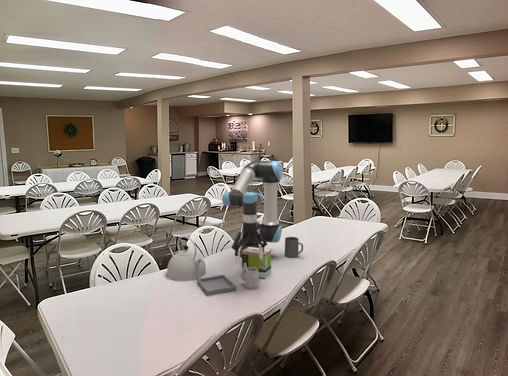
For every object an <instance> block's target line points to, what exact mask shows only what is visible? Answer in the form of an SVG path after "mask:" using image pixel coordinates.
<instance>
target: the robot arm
mask: <svg viewBox="0 0 508 376" xmlns="http://www.w3.org/2000/svg"><path fill="white" fill-rule="evenodd" d="M254 179H259V180H260V179H261V183H262V184H263V195H262V194H260V193H259V192H253V191H252V192H251V191H250V192H246V191H247V189H248V187H249V185H250V184H251V182H252V181H254ZM282 179H283V167H282V164H281V161H278V160H253V161H251V162H248V163H247V164H245V166H243V167H242V169H241V171H240V175H239V177H238V178H237V180H236V181H235V183H234V185H233V186H232V188H231V189H230V191H229V192H224V193H223V194H222V197H221V198H222V204H223V206H228V207H241V208H242V226H241V231H239V230H238V231H237V232H236V236H235V238H234V241H233V243H232V245H231V249H232V250H233V251H234V256H235V258H236V260H235V261H236V262H237V263H240V262H241V258H242V251H243V250H244V249H246V248H248V247H255V248H259V258H260V259H263V253H264V249H265V247H267V246H268V243H271V244H272V243H273V244H274V243H275V244H276V243H279V242H280V240H281V237H282V230H283V226H282V225H281V224H280V221H279V220H278V185H279V184H280V181H281V180H282ZM262 203H263V216H264V217H263V221H261V223H260V221H258V208H259V207H260V206H261V205H262Z"/></svg>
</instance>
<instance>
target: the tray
mask: <svg viewBox="0 0 508 376" xmlns="http://www.w3.org/2000/svg"><path fill="white" fill-rule="evenodd" d="M196 283H197V285H198V286H199V287H200V289H202V292H204V294H206V296H208V297H209V296H214V295H221V294H226V293H231V292H235V291H237V289H238V288H237V284H235V283H234V282H233V281H232V280H231V279H230V278H228V276H226V275H225V274H220V275H214V276H207V277H201V278H199V279H196Z"/></svg>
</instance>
